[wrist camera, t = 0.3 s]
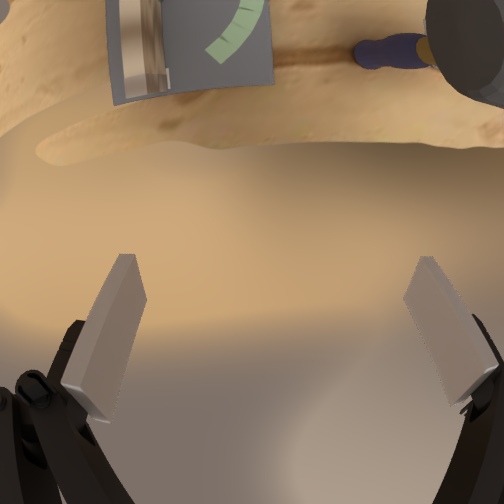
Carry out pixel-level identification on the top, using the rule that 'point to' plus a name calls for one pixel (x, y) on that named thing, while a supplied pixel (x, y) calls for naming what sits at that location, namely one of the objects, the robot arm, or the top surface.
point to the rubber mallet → (450, 47)
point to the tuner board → (202, 46)
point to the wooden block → (142, 47)
